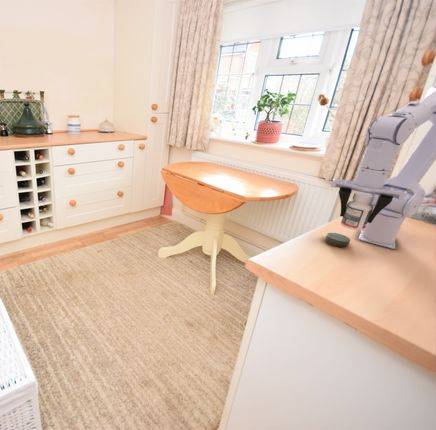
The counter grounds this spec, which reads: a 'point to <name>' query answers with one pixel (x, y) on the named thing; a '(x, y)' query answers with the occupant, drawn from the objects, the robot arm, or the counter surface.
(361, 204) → the pill bottle
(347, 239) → the coaster stack
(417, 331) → the counter surface
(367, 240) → the robot arm
